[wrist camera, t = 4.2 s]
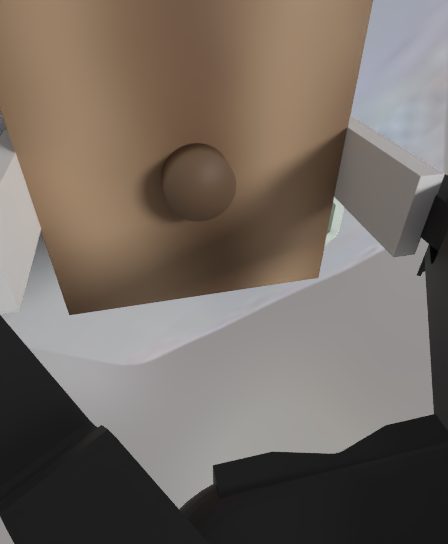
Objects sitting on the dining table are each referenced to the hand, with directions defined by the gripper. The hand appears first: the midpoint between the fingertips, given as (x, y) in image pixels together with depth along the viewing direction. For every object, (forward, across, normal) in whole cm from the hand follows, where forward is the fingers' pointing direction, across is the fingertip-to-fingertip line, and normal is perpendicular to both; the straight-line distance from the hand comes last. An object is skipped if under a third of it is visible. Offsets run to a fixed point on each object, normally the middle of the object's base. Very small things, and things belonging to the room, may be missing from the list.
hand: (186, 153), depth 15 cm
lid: (+2, 0, 0) cm, 2 cm away
